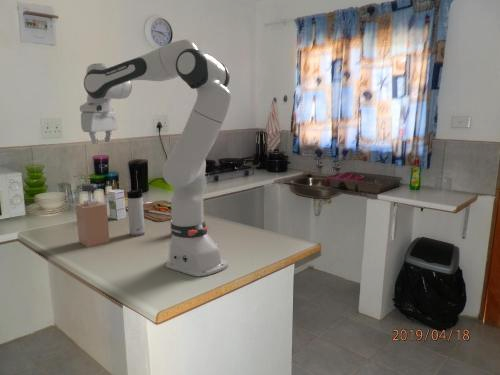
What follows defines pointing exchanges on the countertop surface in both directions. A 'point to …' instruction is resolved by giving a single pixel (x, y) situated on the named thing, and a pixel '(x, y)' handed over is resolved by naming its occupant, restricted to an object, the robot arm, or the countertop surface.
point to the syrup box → (117, 204)
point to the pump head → (89, 189)
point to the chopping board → (157, 211)
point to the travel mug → (136, 212)
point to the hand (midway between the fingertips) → (101, 142)
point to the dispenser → (92, 223)
